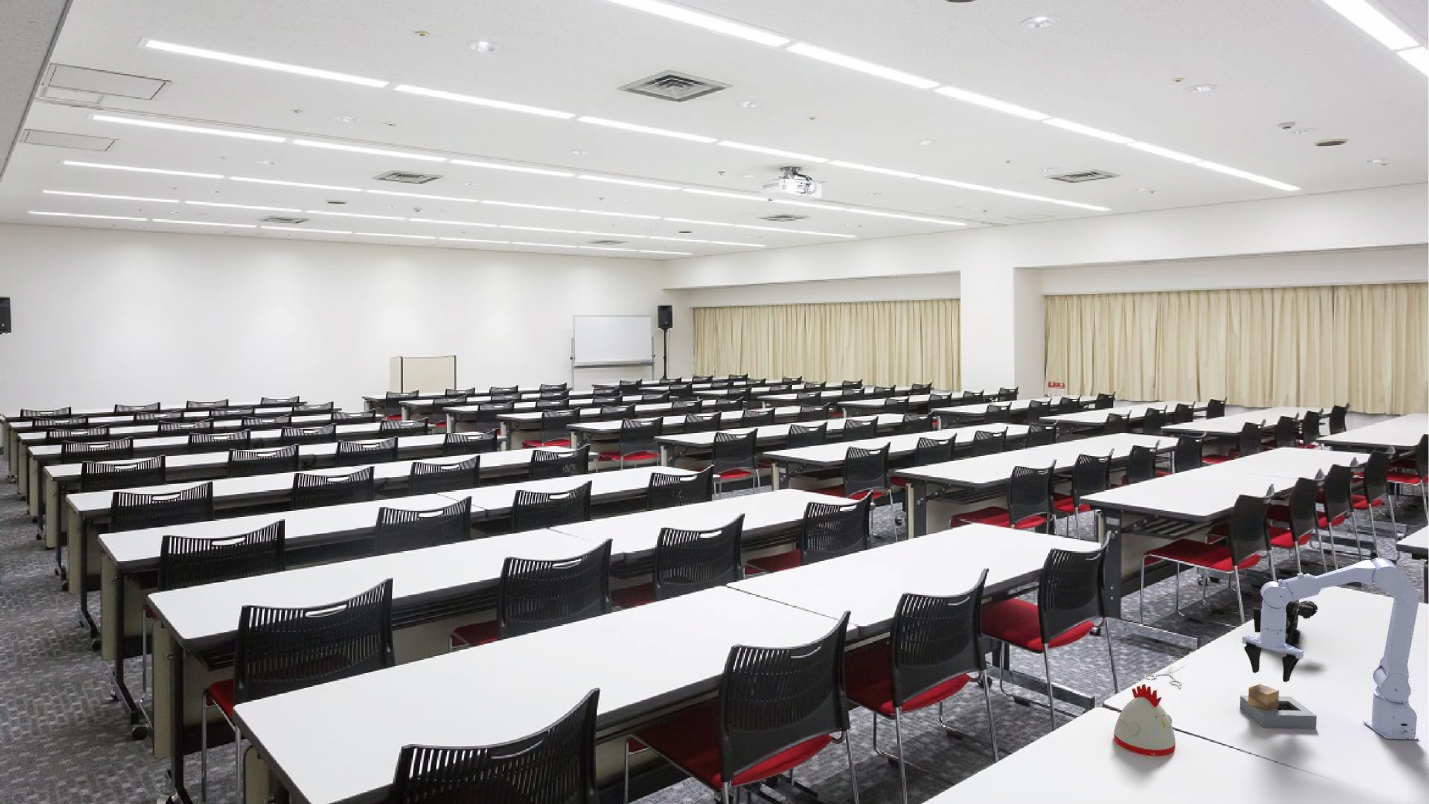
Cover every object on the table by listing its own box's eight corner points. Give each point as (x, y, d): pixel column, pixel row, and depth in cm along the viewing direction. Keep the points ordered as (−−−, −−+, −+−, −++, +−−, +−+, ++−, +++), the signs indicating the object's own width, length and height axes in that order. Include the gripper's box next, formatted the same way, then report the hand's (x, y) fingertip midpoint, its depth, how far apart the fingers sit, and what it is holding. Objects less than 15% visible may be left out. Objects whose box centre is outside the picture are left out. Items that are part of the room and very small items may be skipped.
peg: (1277, 718, 240) (1279, 690, 239) (1266, 722, 238) (1267, 694, 237) (1258, 711, 244) (1260, 684, 244) (1247, 715, 242) (1248, 687, 241)
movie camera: (1314, 657, 280) (1314, 601, 280) (1248, 646, 292) (1248, 592, 291) (1328, 634, 304) (1328, 582, 303) (1267, 625, 315) (1267, 575, 315)
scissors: (1141, 678, 266) (1160, 658, 282) (1141, 681, 267) (1159, 660, 282) (1180, 688, 260) (1197, 666, 275) (1180, 690, 260) (1197, 669, 275)
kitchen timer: (1147, 760, 219) (1149, 701, 217) (1102, 736, 231) (1103, 680, 230) (1187, 749, 224) (1190, 690, 223) (1141, 726, 237) (1143, 671, 235)
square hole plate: (1316, 728, 234) (1316, 715, 234) (1263, 727, 235) (1263, 714, 235) (1290, 708, 246) (1290, 696, 246) (1239, 707, 247) (1240, 695, 247)
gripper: (1309, 631, 238) (1307, 681, 240) (1251, 617, 250) (1249, 664, 252) (1297, 637, 235) (1294, 688, 236) (1239, 622, 246) (1237, 670, 248)
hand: (1270, 676), depth 244 cm, fingers open, 7 cm apart
